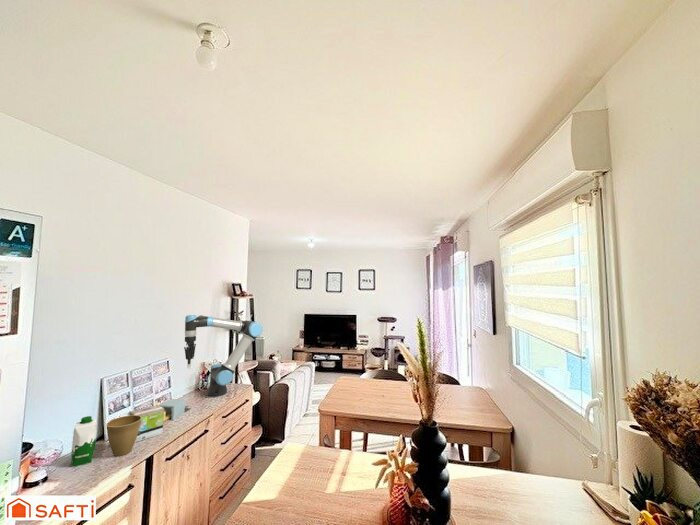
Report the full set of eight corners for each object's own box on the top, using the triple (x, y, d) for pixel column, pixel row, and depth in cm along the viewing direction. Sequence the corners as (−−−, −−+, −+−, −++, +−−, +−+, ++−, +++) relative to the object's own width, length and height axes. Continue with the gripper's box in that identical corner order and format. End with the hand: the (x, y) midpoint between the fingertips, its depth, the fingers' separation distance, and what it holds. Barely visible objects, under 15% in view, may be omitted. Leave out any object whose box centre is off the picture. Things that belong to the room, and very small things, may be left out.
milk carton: (94, 455, 158) (98, 414, 159) (93, 463, 150) (96, 420, 152) (71, 460, 153) (75, 418, 154) (69, 469, 145) (73, 424, 147)
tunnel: (180, 406, 224) (181, 393, 225) (194, 406, 224) (194, 393, 225) (147, 425, 192) (148, 410, 192) (163, 426, 191) (164, 411, 192)
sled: (175, 409, 215) (176, 400, 216) (183, 410, 215) (183, 400, 215) (150, 425, 191) (151, 414, 191) (159, 425, 190) (159, 414, 191)
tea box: (133, 443, 170) (135, 415, 171) (126, 438, 176) (128, 411, 177) (163, 434, 181) (164, 407, 183) (156, 429, 188) (157, 403, 189)
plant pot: (144, 444, 169) (147, 414, 170) (130, 459, 154) (132, 425, 156) (114, 446, 166) (117, 415, 168) (96, 461, 152) (99, 427, 153)
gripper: (190, 334, 239) (189, 365, 237) (180, 337, 226) (179, 370, 224) (199, 334, 238) (199, 365, 237) (190, 337, 225) (190, 370, 224)
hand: (189, 368), depth 230 cm, fingers closed
